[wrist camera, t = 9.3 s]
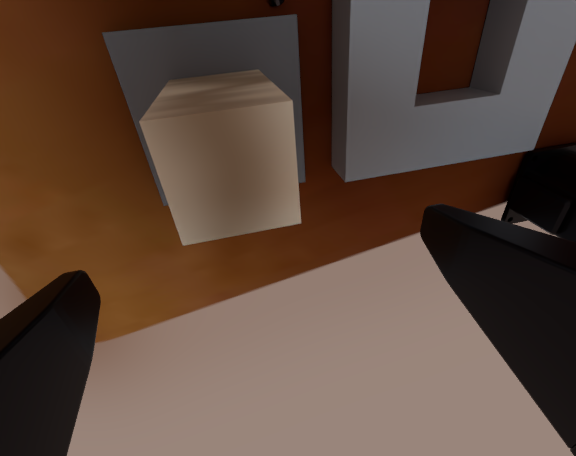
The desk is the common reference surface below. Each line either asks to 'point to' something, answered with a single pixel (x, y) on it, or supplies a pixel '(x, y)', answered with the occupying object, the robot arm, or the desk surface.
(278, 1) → the stick construction toy
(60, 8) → the desk surface
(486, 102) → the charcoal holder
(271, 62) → the dark gray panel
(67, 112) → the desk surface
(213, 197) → the cream block
